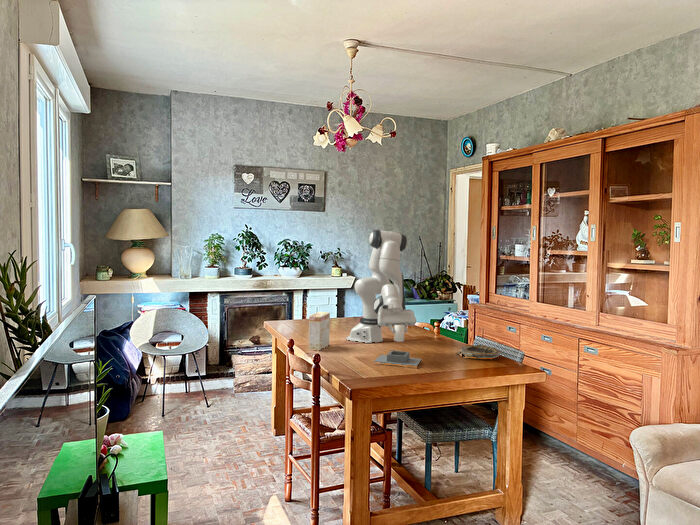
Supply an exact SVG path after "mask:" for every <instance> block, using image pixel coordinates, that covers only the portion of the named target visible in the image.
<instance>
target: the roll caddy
mask: <svg viewBox="0 0 700 525" xmlns="http://www.w3.org/2000/svg"><path fill="white" fill-rule="evenodd" d="M410 353H411V352H410V351H403V350H402V351H401V350H389V352H388V353H387V354H386V355H385V354H380V355H379V356H377V358H376V359H375V360H374V361H373V363H374V362H380V363H391V364H401V365H412V366H417V365H418V364H419V363H420V361H421V360H422V358H416V357H410V355H411V354H410ZM420 364H421V363H420Z"/></svg>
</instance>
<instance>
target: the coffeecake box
mask: <svg viewBox="0 0 700 525" xmlns="http://www.w3.org/2000/svg"><path fill="white" fill-rule="evenodd" d="M330 314H331V313H330V312H327V311H317V312H316V313H313V314H311V315H309V317H308V318H309V319H308V350H309V349H316V350H320V351H322V350H323V349H322V348H324V347H326V346H327V347H329V346H330V329H331V328H330V320H331V319H330V316H331V315H330ZM328 345H329V346H328ZM327 347H326V348H327ZM321 349H322V350H321ZM324 349H325V348H324Z"/></svg>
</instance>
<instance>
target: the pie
mask: <svg viewBox="0 0 700 525" xmlns="http://www.w3.org/2000/svg"><path fill="white" fill-rule="evenodd" d="M459 351H460V353H458V354H461V353H463V355H464V356H467V357H476V358H495V357H498V358H499V356H501V350H500V349H497V348H495V347H491V346H487V345H482V344H474V345H472V344H471V345H463V346H462V347H461V348H460V350H459Z"/></svg>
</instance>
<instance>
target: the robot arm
mask: <svg viewBox="0 0 700 525" xmlns="http://www.w3.org/2000/svg"><path fill="white" fill-rule="evenodd" d="M368 238H369V239H368V242H369V245H370V246H371V247H372V251H371V253H370V254H371V255H370V257H369V261H368V262H369V263H368V269H369V270H371V273H372V274H371V276H369V277H368V276H367V277H362V278H359V279H357V280H356V281H355V283H354V291H355V293H356V294H357V295H358V296H359V297H360V299H361V300H360V301H361V303H362V316H360V318H359V323H358V324H356V325H355V326H353V328H351V330H350V333H349V335H348V336H346V337H345V340H346V339H347V340H346V341H348V340H350V341H349V342H355V341H358V342H357V343H362V342H365V343H364V344H373V343H372V342H375V343H380V342H383V341H384V339H383V334H382V327H387V328H389V330H390V331H391V333H392V334H394V333H395V328H394V326H395V324H402V325H405V331H404V333H408V326H409V327H413V326H415V325H416V323H417V318H416V316H415V312H414V311H413V310H412V309H406V302H405V279H404V273H403V272H401V268H400V261H401V260H400V259H401V257H400V256H401V252H403V251H405V250H406V248H407V244H408V238H407V236H406V235H405V234H403V233H398V232H395V231H391V230H389V231H387V230H379V229H373V230H372V231H371V232H370V235H369V237H368ZM391 282H392V283H391ZM376 295H379V296H378V297H376Z"/></svg>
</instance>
